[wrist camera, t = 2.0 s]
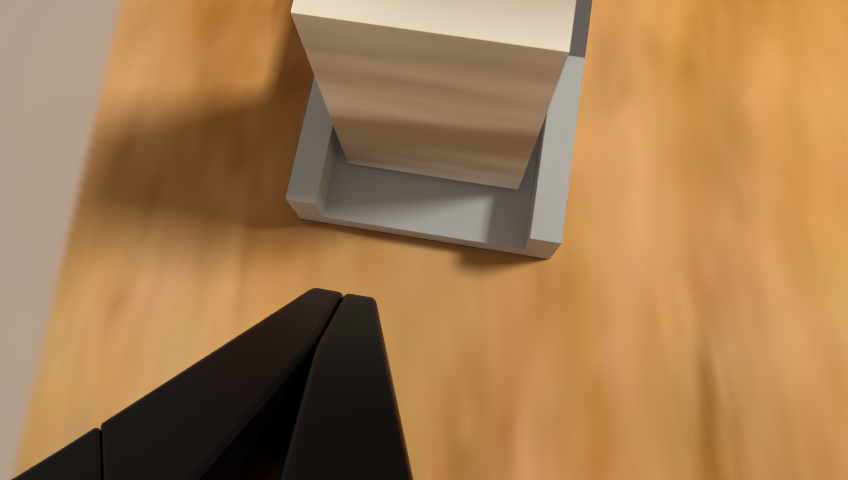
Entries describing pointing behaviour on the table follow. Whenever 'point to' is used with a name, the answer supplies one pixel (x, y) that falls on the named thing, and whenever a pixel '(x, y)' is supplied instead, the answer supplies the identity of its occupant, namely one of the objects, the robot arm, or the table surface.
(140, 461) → the robot arm
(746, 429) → the table surface
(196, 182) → the table surface
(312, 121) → the channel
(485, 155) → the cream block
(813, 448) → the table surface
